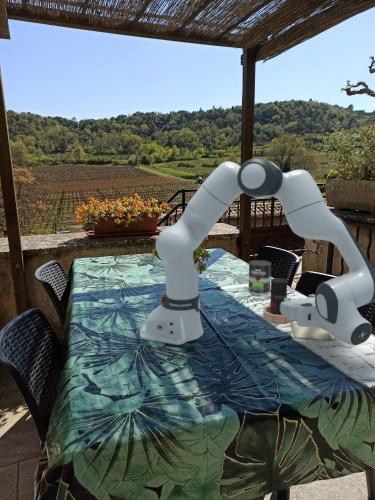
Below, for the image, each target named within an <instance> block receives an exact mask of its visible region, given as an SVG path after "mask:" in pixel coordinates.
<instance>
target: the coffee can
mask: <svg viewBox="0 0 375 500" xmlns="http://www.w3.org/2000/svg"><path fill="white" fill-rule="evenodd" d="M271 273H272V262H270V261H268V260H263V259H262V260H260V259H257V260H256V259H255V260H254V259H253V260H250V261H249V262H248V293H250V294H252V295H257V296H265V295H266V296H267V295H269V294H271V279H272V277H271V276H272V274H271Z"/></svg>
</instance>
